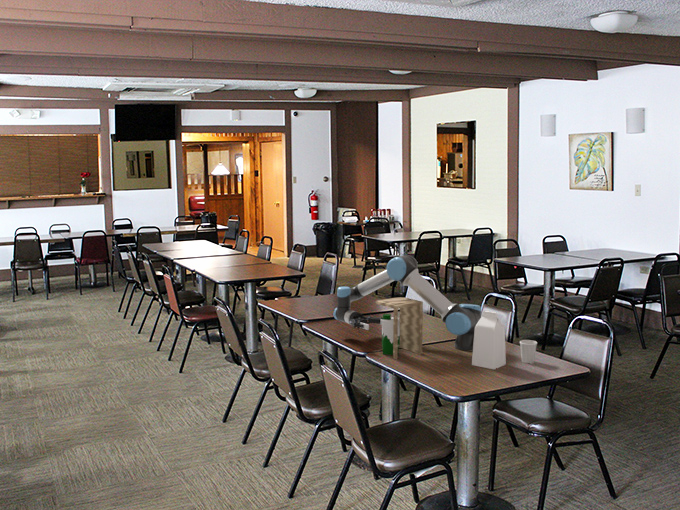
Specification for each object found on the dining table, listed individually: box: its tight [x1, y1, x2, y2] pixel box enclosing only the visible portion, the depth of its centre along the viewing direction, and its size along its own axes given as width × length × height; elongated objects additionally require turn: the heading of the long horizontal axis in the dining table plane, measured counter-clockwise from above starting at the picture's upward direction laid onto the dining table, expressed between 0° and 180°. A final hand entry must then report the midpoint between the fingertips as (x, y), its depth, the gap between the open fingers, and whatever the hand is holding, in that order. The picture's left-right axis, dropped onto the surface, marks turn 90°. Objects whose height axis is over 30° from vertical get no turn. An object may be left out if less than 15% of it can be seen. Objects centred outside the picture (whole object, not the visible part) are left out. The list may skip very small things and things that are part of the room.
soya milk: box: [381, 313, 400, 356], centre depth 357 cm, size 9×9×20 cm
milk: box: [471, 310, 507, 370], centre depth 336 cm, size 12×12×26 cm
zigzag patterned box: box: [374, 296, 424, 360], centre depth 357 cm, size 16×18×27 cm
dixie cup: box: [519, 339, 538, 364], centre depth 342 cm, size 8×8×10 cm
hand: (378, 325), depth 365 cm, fingers open, 13 cm apart
